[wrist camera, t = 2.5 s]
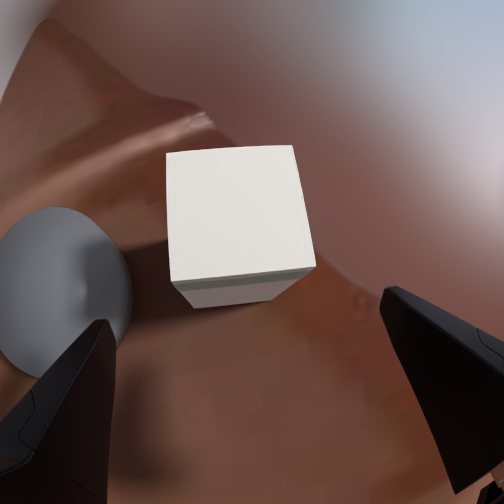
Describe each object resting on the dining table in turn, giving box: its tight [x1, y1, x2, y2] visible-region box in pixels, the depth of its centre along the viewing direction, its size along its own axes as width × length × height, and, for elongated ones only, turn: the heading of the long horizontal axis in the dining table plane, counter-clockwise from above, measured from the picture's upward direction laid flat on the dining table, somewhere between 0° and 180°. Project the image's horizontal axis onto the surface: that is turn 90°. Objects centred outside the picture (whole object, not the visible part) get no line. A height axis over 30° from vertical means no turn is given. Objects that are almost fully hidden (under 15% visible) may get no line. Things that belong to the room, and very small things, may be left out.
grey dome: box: [0, 207, 133, 378], centre depth 18 cm, size 11×11×3 cm
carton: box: [166, 145, 316, 308], centre depth 16 cm, size 5×5×10 cm
